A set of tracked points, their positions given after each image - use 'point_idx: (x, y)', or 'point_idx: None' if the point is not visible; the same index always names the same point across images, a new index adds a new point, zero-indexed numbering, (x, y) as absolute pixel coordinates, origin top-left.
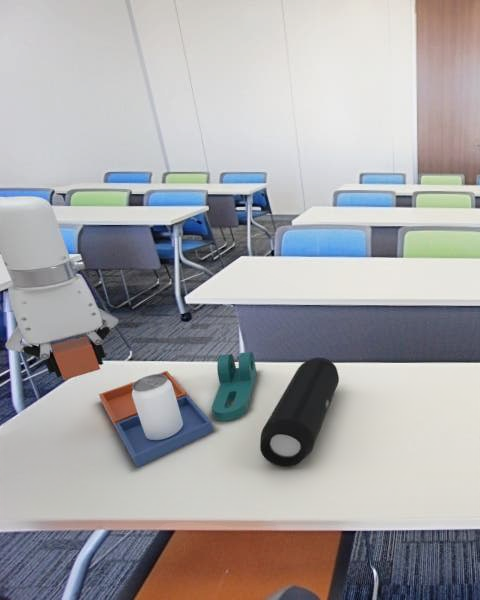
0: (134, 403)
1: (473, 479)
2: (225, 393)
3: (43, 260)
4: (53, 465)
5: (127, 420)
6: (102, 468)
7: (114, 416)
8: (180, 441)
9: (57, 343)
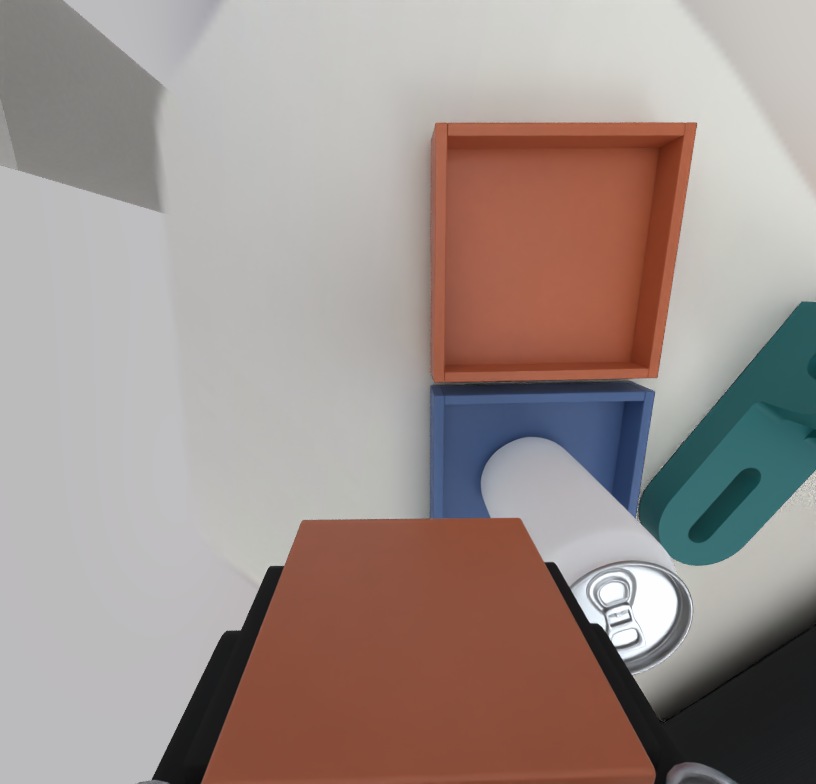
0: (512, 252)
1: None
2: (734, 466)
3: None
4: (275, 413)
5: (466, 404)
6: (369, 509)
7: (442, 352)
8: None
9: None
